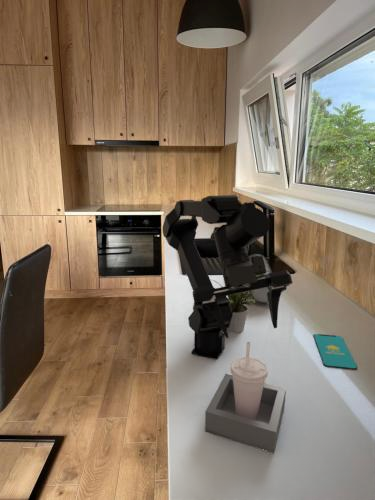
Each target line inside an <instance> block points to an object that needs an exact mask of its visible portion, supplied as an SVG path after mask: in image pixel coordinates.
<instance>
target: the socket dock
mask: <svg viewBox="0 0 375 500" xmlns="http://www.w3.org/2000/svg"><path fill="white" fill-rule="evenodd" d="M286 394H287V388H285V387H282V386H278V385H273V384H270V383H266V382H264V387H263V391H262V396H261V401H260V405H259V410H258V414H257V419H256V420H253V419H249V418H246V417H242V416H239V415H236V408H235V397H234V386H233V376H232V374H229V373H225V374H224V375H223V378H222V380H221V382H220V383H219V385H218V387H217V389H216V390H215V393H214V395H213V397H212V399H211V400H210V402H209V404H208V406H207V408H206V410H205V416H204V419H205V420H204V421H205V422H204V425H205V426H204V432H206V433H209V434H212V435H214V436H218V437H221V438H223V439H227V440H231V441H234V442H236V441H237V442H236V443H240V444H243V445H247V446H250V447H252V446H253V448H255V447H257V448H256V449H258V448H260V449H259V450H262V449H264V450H263V451H265V450H267V451H266V452H268V451H269V452H268V453H271V452H272V454H275V453H274V452H276V448H277V444H278V443H277V442H278V439H279V433H280V430H281V424H282V420H283V416H284V412H285V411H284V410H285V406H286V396H287V395H286Z"/></svg>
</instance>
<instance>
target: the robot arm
mask: <svg viewBox="0 0 375 500" xmlns="http://www.w3.org/2000/svg"><path fill="white" fill-rule="evenodd" d="M186 216H187V217H191V218H181V217H186ZM197 217H198V218H201V220H202V221H203V222H204V223H206V224H209V225H215V224H216V225H218V224H222V225H220V226H215V227H214V228H213V231H212V233H211V234H210V237H209V238H210V240H211V241H214V242H215V246H216V251H217V256H218V260H219V264H220V268H221V274H222V278H223V282H224V286H222V287H221V286H220V287H217V288H216V287H214V286H213V283H212V279H210V278H211V277H210V276H209V274H208V271H207V270H206V266H205V264H204V262H203V260H202V257H201V254H200V253H199V251H198V248H197V246H196V244H195V239H196V235H197V228H198V227H199V222H198V219H197ZM270 225H271V224H270V219H269V218H268V216H267V215H266V213H265V212H263V210H261V209H260V208H258V207H256V204H255V202H254V201H246V202H244V203H242V201H241V200H239V196H238V195H236V194H226V195H225V194H223V195H222V194H220V195H218V194H217V195H207V196H205V197H202V198H201V200H194V199H180V200H177V201H176V202H175V205H174V208H173V209H172V210H171V211H170V212H169V213H168V214H167V215H166V216H165V218H164V221H163V224H162V234H163V237H164V238H165V240H166V242H167V244H168V245H169V246H170V247H172V248H173V249H174V250H175V251H177V253H178V255H179V258H180V261H181V263H182V266H183V268H184V271H185V273H186V276H187V278H188V282H189V283H190V286H191V289H192V297H193V305H192V310H193V311H192V313H191V314H190V315H189V316H188V325H189V327H190V329H192V331H193V332H194V336H193V337H194V347H193V349H192V350H191V354H192V355H194V356H195V355H196V356H201V357H205V358H209V359H212V360H218V359H219V357H220V355H221V354H223V352H224V350H225V349H226V339H229V334H228V331H227V329H226V328H229V326H230V322H231V319H232V315H233V311H232V307H231V305H230V304H229V303H230V302H229V300H228V299H227V298H228V295H233V294H238V293H242V292H247V291H252V290H257V289H262V288H268V289H269V292H267V298H268V302H267V303H268V307H269V314H270V320H271V322H272V327H273V329H277V327H278V314H279V313H278V312H279V304H280V298H281V296H282V293H283V292H285V291H287V289H288V288H287V287H289V286H291V285H292V284H293V278H292V275H291V273H290V271H288V270H287V269H283V270H278V271H273V272H272V273H268V274H267V275H266V276H265V278H264V279H259V280H257V276H256V275H260V274H265V273H266V267H265V263H264V259H263V256H264V255H262V254H260V255H259V256H254V257H251V261H250V260H249V254H248V251H247V247H248V246H250V245H251V244H253V243H255V242H256V241H258V240H259V239H261V238H262V237H264V236H265V235H266V234H268V232H269V231H270V227H271V226H270ZM245 284H251V286H247V285H245ZM244 285H245V286H244ZM236 286H237V287H236ZM231 287H232V288H231ZM233 287H235V288H233ZM231 290H233V291H231Z"/></svg>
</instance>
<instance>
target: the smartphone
mask: <svg viewBox="0 0 375 500" xmlns="http://www.w3.org/2000/svg"><path fill="white" fill-rule="evenodd" d="M312 336H313V339H314V342H315V346H316V347H317V350H318V351H317V352H318V353H319V356H320V359H321V362H322V364H323V366H324V367H327V368H335V369H342V370H343V369H345V370H353V371H354V370H357V369H358V366H357V363H356V362H355V360H354V357H353V356H352V353H351V352H350V349H349V348H348V346H347V344H346V343H345V341H344V340H345V339H344V338H343V337H342V336H341V335H332V334H331V335H330V334H321V333H314V334H313V335H312Z"/></svg>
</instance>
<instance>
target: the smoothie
mask: <svg viewBox="0 0 375 500" xmlns="http://www.w3.org/2000/svg"><path fill="white" fill-rule="evenodd" d="M250 346H251V342H249V341H248V342H246V350H245V357H239V358H236V359H234V360H233V361H232V362H231V364H230V375H232V376H233V386H234V397H235V408H236V415H239V416H242V417H246V418H249V419H253V420H256V419H257V414H258V410H259V405H260V401H261V396H262V391H263V387H264V383H266V382H265V381H266V380H267V378H268V377H269V368H268V366H267V364H266V363H264V362H263V361H262V360H260V359H257V358H253V357H250V353H251V351H250V350H251V349H250V348H251V347H250Z"/></svg>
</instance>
